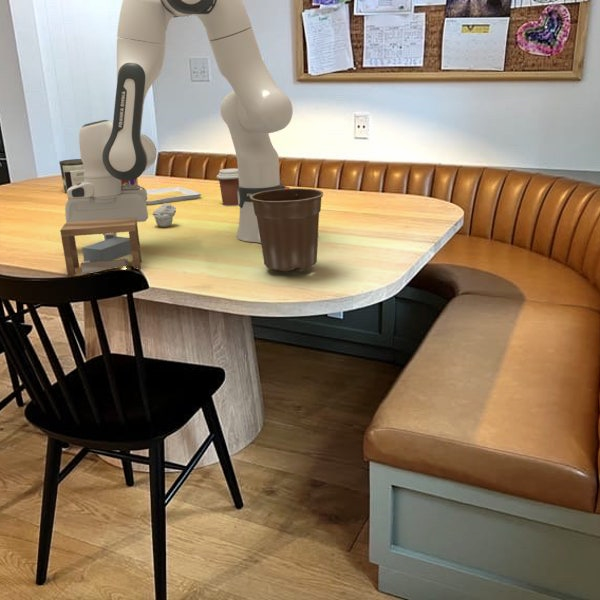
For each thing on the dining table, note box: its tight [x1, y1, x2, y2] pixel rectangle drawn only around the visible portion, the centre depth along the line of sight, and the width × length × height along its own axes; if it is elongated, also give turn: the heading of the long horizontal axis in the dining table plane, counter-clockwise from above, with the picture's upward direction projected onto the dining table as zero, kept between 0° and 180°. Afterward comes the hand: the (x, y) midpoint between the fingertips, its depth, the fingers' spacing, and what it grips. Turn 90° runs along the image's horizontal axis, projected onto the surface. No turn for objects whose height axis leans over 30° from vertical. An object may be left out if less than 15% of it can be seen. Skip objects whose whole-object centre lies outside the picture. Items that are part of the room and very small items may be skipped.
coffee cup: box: [216, 168, 239, 207], centre depth 214 cm, size 9×9×12 cm
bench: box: [59, 218, 143, 277], centre depth 146 cm, size 8×16×10 cm, turn 101°
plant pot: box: [250, 187, 324, 272], centre depth 143 cm, size 16×16×16 cm
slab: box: [81, 236, 132, 262], centre depth 158 cm, size 12×6×4 cm, turn 154°
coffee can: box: [58, 158, 84, 194], centre depth 240 cm, size 10×10×14 cm
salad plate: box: [145, 186, 202, 206], centre depth 229 cm, size 21×21×3 cm
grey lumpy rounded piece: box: [151, 202, 177, 228], centre depth 186 cm, size 6×7×7 cm
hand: (111, 240), depth 164 cm, fingers closed
